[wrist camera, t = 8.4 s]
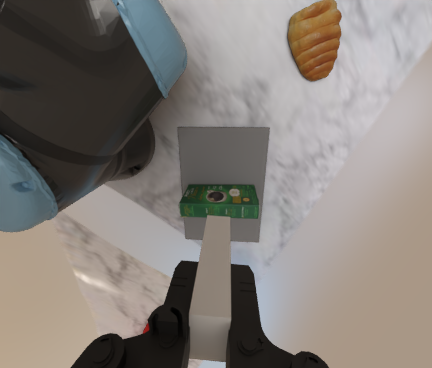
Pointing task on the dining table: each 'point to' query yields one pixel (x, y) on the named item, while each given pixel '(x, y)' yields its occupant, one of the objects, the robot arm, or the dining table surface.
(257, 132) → the slate mat
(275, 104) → the dining table surface
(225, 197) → the coffee box
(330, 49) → the pastry
